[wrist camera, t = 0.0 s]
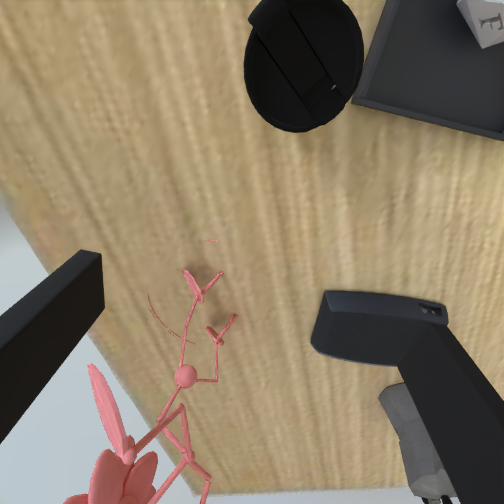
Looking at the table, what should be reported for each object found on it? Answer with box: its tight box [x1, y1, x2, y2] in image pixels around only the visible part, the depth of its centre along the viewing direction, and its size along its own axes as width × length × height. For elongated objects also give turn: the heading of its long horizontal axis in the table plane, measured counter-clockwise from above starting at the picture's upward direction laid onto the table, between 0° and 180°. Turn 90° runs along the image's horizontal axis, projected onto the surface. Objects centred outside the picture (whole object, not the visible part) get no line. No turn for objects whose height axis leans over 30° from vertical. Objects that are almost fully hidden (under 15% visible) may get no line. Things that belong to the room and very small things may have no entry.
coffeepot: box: [378, 383, 457, 504], centre depth 50 cm, size 15×9×18 cm, turn 7°
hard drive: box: [310, 291, 449, 367], centre depth 46 cm, size 13×19×4 cm
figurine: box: [63, 240, 237, 504], centre depth 32 cm, size 15×26×35 cm, turn 13°
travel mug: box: [244, 0, 364, 133], centre depth 22 cm, size 6×7×20 cm
